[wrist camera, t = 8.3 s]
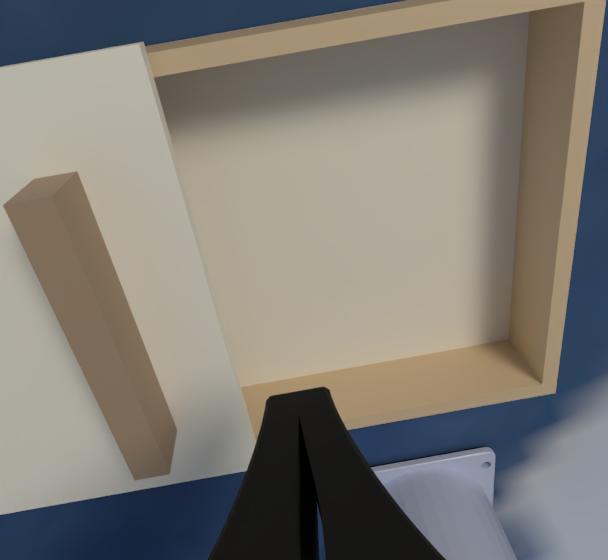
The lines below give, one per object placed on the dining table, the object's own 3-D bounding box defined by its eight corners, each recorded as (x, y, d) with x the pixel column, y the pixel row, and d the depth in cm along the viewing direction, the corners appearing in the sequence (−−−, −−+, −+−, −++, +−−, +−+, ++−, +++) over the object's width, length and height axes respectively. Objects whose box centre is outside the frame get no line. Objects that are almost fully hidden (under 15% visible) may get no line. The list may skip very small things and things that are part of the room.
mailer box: (516, 342, 24) (555, 393, 21) (99, 416, 24) (76, 478, 21) (543, -24, 17) (609, -28, 13) (-63, 82, 16) (-135, 102, 13)
